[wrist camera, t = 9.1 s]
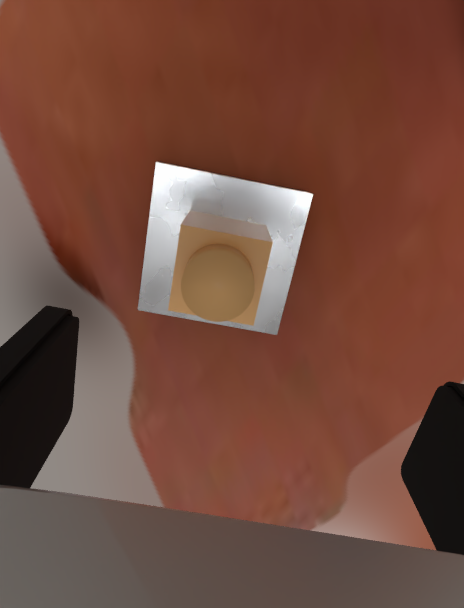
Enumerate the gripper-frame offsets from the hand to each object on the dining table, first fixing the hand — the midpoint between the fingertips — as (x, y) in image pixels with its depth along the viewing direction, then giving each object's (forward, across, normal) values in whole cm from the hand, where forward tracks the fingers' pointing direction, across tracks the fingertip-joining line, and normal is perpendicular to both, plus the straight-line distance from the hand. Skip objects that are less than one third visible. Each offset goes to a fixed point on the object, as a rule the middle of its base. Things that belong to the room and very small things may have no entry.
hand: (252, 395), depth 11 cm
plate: (+19, +1, +2) cm, 19 cm away
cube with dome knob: (+18, +1, +2) cm, 18 cm away
